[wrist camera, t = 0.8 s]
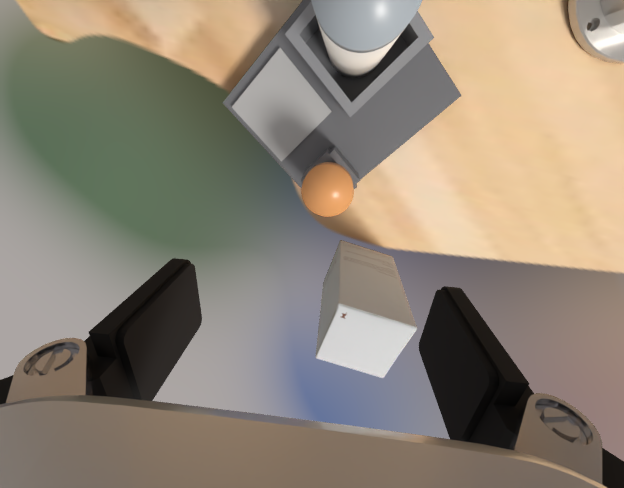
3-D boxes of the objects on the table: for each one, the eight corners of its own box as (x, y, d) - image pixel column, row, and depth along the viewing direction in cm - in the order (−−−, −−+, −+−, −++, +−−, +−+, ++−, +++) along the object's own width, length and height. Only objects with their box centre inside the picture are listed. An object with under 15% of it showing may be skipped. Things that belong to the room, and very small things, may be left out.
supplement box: (321, 283, 37) (311, 359, 26) (340, 237, 34) (338, 302, 23) (372, 299, 38) (383, 381, 26) (395, 256, 34) (420, 328, 23)
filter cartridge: (360, -8, 22) (380, -155, 10) (397, 46, 23) (455, -24, 11) (316, 44, 24) (284, -24, 12) (351, 91, 25) (358, 75, 13)
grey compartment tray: (356, -58, 22) (359, -100, 18) (455, 96, 26) (478, 93, 21) (228, 103, 28) (206, 102, 24) (323, 206, 32) (319, 222, 28)
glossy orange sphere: (332, 146, 25) (329, 153, 21) (361, 181, 27) (364, 194, 23) (298, 177, 27) (290, 189, 23) (327, 209, 28) (325, 226, 24)
